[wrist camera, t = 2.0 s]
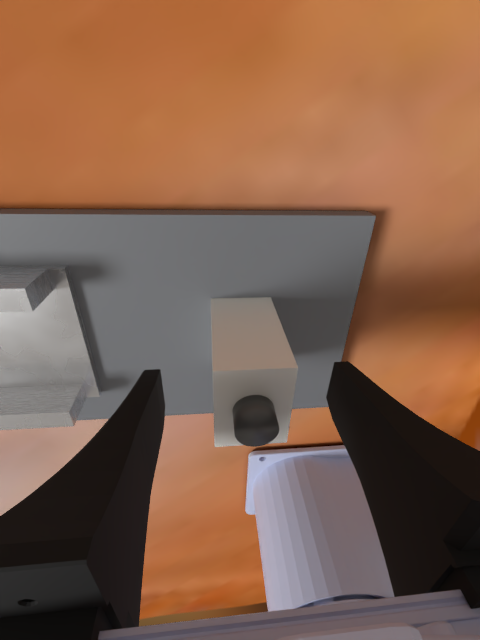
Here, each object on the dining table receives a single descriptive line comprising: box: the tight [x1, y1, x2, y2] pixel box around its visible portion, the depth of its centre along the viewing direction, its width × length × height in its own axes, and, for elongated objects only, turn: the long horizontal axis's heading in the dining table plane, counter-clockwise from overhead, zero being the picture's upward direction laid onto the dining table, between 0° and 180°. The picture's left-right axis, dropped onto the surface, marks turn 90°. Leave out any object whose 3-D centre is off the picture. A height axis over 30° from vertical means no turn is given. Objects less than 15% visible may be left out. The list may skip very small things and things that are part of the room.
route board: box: [0, 209, 376, 420], centre depth 17 cm, size 22×12×1 cm, turn 88°
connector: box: [211, 297, 298, 447], centre depth 14 cm, size 3×4×6 cm
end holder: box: [0, 265, 102, 430], centre depth 15 cm, size 6×8×2 cm
